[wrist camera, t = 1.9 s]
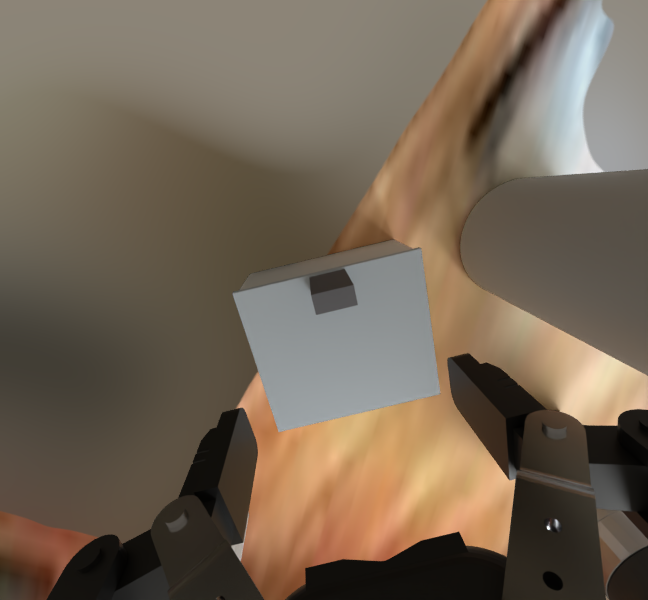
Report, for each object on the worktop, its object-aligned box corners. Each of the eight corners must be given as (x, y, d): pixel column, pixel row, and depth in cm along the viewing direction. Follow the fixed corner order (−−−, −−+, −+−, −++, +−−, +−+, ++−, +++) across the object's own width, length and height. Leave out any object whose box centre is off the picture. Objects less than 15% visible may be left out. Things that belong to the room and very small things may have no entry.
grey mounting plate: (418, 247, 27) (446, 260, 22) (438, 390, 32) (465, 429, 27) (233, 291, 27) (217, 315, 22) (279, 427, 32) (274, 474, 27)
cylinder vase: (436, 266, 36) (687, 403, 13) (497, 156, 33) (987, 65, 10) (524, 308, 39) (876, 489, 15) (590, 209, 36) (1169, 241, 12)
